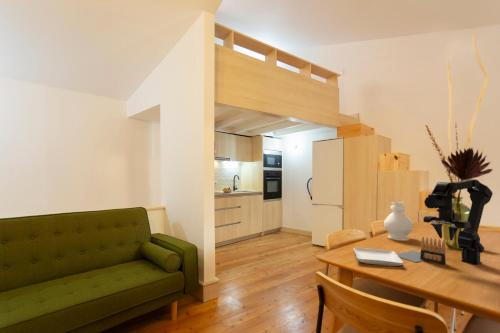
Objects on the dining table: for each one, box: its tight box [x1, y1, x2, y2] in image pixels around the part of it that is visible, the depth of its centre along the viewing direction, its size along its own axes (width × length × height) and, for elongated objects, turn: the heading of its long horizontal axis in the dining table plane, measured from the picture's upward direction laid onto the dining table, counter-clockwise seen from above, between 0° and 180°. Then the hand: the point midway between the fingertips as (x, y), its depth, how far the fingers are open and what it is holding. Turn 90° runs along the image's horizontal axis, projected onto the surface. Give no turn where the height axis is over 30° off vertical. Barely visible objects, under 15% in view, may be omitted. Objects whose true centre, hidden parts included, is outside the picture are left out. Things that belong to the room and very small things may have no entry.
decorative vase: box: [383, 201, 414, 242], centre depth 185 cm, size 18×18×25 cm
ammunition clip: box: [420, 236, 447, 265], centre depth 137 cm, size 11×2×12 cm, turn 49°
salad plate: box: [353, 247, 404, 267], centre depth 140 cm, size 21×21×3 cm
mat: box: [396, 250, 425, 263], centre depth 145 cm, size 13×18×1 cm
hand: (446, 239), depth 131 cm, fingers open, 4 cm apart
